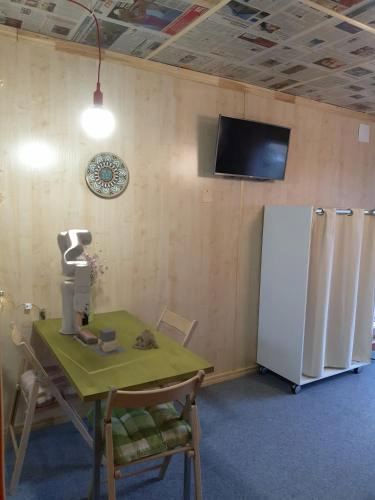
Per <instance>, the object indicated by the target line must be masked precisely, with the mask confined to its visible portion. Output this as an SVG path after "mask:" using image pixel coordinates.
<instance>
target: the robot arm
mask: <svg viewBox="0 0 375 500" xmlns="http://www.w3.org/2000/svg"><path fill="white" fill-rule="evenodd" d="M56 241H57V246H58V248H59V252H60V254H61V261H60V264H61V270H62V271H61V272H62V275H63V276H64V277H65V278H70V279H65V280H63V281H61V282H60V286H59V288H60V295H61V328H59V330H58V331H59V333H60V334H62V335H76V334H77V331H80V330H82V327H85V325H86V326H88V325H89V322H90V321H89V318H90V315H91V294H90V293H91V290H92V282H91V272H92V264H90V262H89V261H87V260H77V258H78V257H80V256H82V255H83V253H84V251H85V247H86V246H89V245H91V244H92V242H93V236H92V233H91V231H90V230H89V229H71V230H67V231H62V232H59V233H57V237H56ZM71 278H72V279H71ZM84 311H85V312H84ZM77 312H81V313H82V315H83V318H82V326H78V325H77ZM84 313H86V314H85V315H84Z"/></svg>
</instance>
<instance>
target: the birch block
mask: <svg viewBox="0 0 375 500" xmlns="http://www.w3.org/2000/svg"><path fill="white" fill-rule="evenodd" d="M117 342H118V340H117V339H116V338H115V340H113V341H109V342H104V341H102V340H100V338H98V342H97V345H98V348H99V349H100V350H102V351H103V352H108V351H112V350H116V349H117V345H118V343H117Z"/></svg>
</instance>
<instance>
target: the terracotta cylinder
mask: <svg viewBox="0 0 375 500" xmlns="http://www.w3.org/2000/svg"><path fill="white" fill-rule="evenodd" d="M85 311H86V310H85ZM85 311H84V312H85ZM85 314H86V313H84V315H85ZM82 318H83V315H82V313H81V312H77V325H78V326H79V327H83V326H82ZM85 326H87V325H85ZM85 326H84V327H85Z"/></svg>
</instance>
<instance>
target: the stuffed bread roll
mask: <svg viewBox="0 0 375 500" xmlns="http://www.w3.org/2000/svg"><path fill="white" fill-rule="evenodd" d="M135 341H136V342H135V343H133V344H132V348H134V349H137V350H147V349H149V348H152V349H155V348H157V347H158V344H157V339H156V337H155V334H154V332H152V331H151V330H150V329H148V328H145V329H144V330H143V331H141V332H140V333H139V334H138V335H137V336H136V338H135Z"/></svg>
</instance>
